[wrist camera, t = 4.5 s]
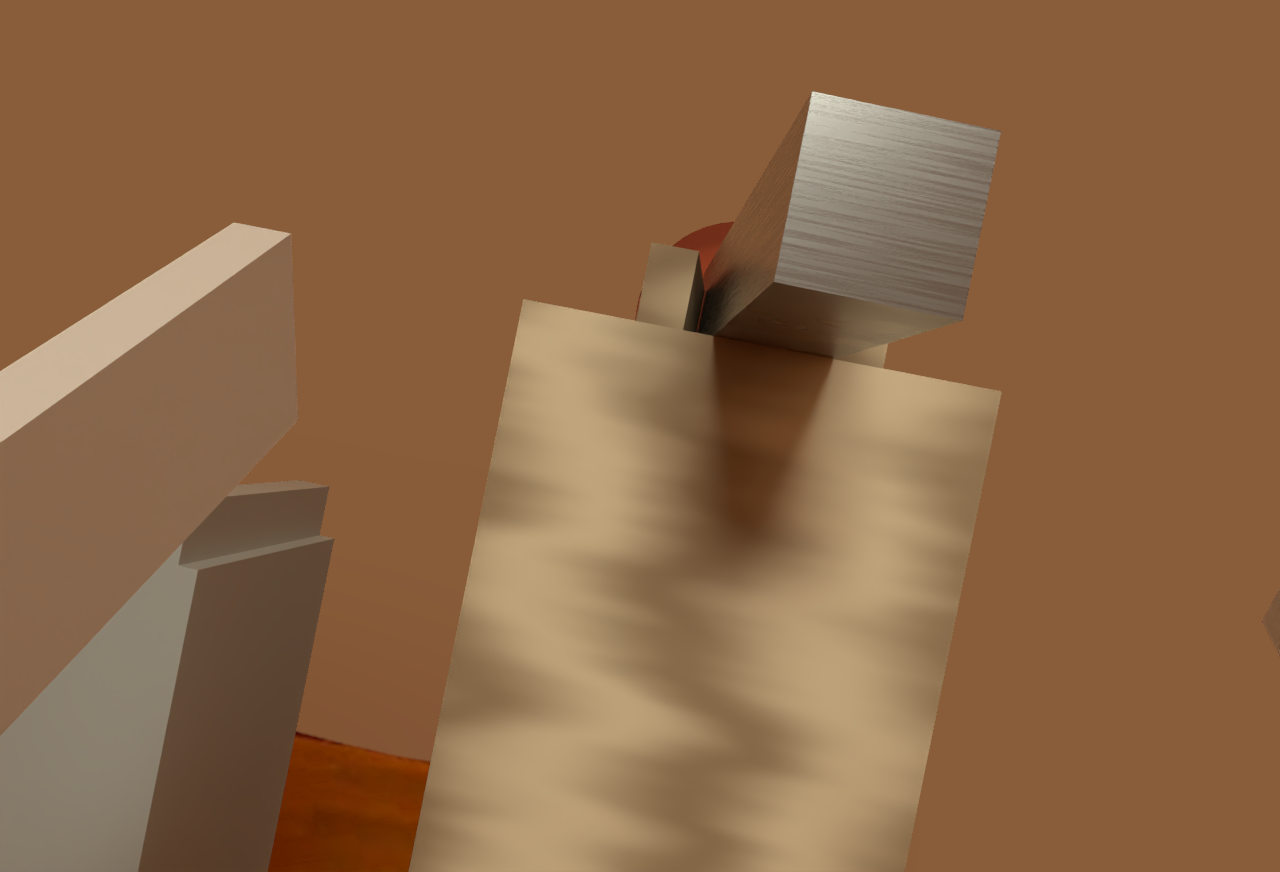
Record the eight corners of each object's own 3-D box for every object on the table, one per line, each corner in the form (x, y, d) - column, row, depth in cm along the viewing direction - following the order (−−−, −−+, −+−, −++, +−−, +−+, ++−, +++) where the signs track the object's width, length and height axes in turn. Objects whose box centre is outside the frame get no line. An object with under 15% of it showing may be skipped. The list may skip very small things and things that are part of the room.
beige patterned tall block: (290, 1460, 27) (539, 221, 27) (378, 1256, 34) (577, 267, 34) (757, 1595, 27) (1018, 310, 26) (751, 1356, 34) (957, 339, 33)
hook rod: (621, 382, 17) (711, -64, 17) (617, 406, 38) (655, 212, 38) (1061, 471, 17) (1150, 31, 17) (810, 445, 39) (849, 252, 38)
